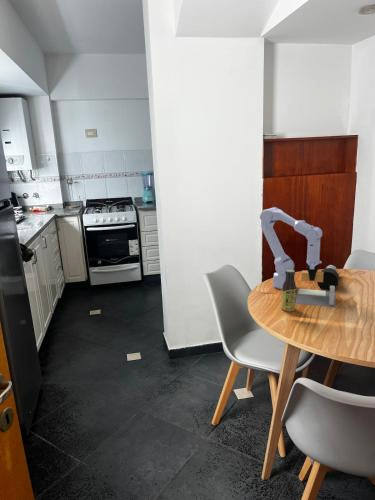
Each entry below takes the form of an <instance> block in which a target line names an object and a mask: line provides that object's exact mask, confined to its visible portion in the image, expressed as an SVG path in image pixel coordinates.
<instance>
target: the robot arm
mask: <svg viewBox="0 0 375 500" xmlns="http://www.w3.org/2000/svg"><path fill="white" fill-rule="evenodd" d="M259 219H260V224H261V225H260V227H261V230H262V232H263V235H264V237H265V239H266V242H267V243H268V245H269V248H270V250H271V251H272V254H273V257H274V266H275V271H276V272H274V273H273V279H272V281H273V282H272V283H273V284H272V289H279V290H282V288H283V283H284V281H285V278H286V273H285V272H286V270H288V269H291V270H295V263H294V261H293V260H292V259H291V257H290V256H289V255H288V254H286V253H285V251H284V249H283V247H282V244H281V243H280V240H279V238H278V236H277V234H276V231H275V229H274V225H275V223H276V221H281V222H283V223H286V224H287V225H289V226H291V227H293V229H294V231H295V232H298V233H299V234H301V235H303V236H304V237H305V238H306V240H307V253H306V264H307V265H306V267H305V268H306V271H308V273H309V279H310V280H311V281H310V282H313V281H314V280H315V276H316V272H319V271H318V270H319V269H320V268H319V267H320V264H322V261H321V260H320V257H321V255H320V253H321V238H322V237H323V230H322V229H321V228H320V226H314V225H311V224H309V223H307V222H306V220H304V219H302V220H301V219H300V220H297V219H295V218H293V217H292V216H290V215H289V214H287V213H286V212H284V211H283V210H282V209H280V208H278V207H276V206H275V207H274V206H273V207H270V208H267V209H263V210H262V211H261V212H260V214H259Z"/></svg>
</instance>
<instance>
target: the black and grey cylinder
mask: <svg viewBox="0 0 375 500" xmlns="http://www.w3.org/2000/svg"><path fill="white" fill-rule="evenodd" d="M320 272H324V273H323V282H316V283H317V286H318V288H319V289H321V290H322V291H330V286H335V289H336V288H337V287H338V285H339V281H340V275H339V273H338V269H337V267H336V266H334V265H332V264H329V265H328V266H326V267H325V268H324V269H322V270H321V271H320Z"/></svg>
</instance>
